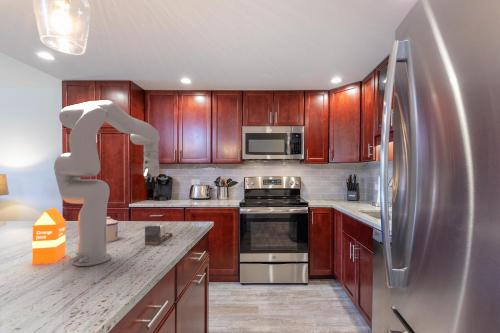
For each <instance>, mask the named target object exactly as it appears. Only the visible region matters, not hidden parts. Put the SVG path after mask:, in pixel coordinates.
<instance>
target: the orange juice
mask: <svg viewBox="0 0 500 333" xmlns="http://www.w3.org/2000/svg"><path fill="white" fill-rule="evenodd" d="M66 221H67V220H66V219H65V218H64V217H63V216H62V214H61V213H60V212H59V211H58V209H56V207H52V208H49V209H46V210H44V211H43V213H42V214H41V216H39V218H38V219H37V221H36V222H35V223H34V224H33V225H32V245H31V246H32V265H39V264H41V263H43V264H51V263H53V264H54V263H57V262H58V261H59V260H62V258H63V257H65V256H66Z"/></svg>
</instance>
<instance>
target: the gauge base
mask: <svg viewBox="0 0 500 333" xmlns="http://www.w3.org/2000/svg"><path fill="white" fill-rule="evenodd" d="M172 236H173V232H165V236H163V237H161V238H160V226H156V225H147V226H145V227H144V246H159V245H160V244H162V243H163V242H165V241H166V240H168V239H170V238H171V237H172Z"/></svg>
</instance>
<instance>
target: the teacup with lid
mask: <svg viewBox="0 0 500 333" xmlns="http://www.w3.org/2000/svg"><path fill="white" fill-rule="evenodd" d="M118 225H119V221H118V220H115V219H113V218H111V216H107V240H106V243H109V242H110V243H111V242H115V241H117V240H118V238H119V226H118Z"/></svg>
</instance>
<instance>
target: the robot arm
mask: <svg viewBox="0 0 500 333" xmlns="http://www.w3.org/2000/svg"><path fill="white" fill-rule="evenodd" d="M58 119H59V121H60V124H62V125H63V126H64V127H65V128H67V129H71V130H70V133H69V134H68V135H69V136H68V143H69V150H70V152H64V153H61V154H59V155H58V156H57V157H55V158H56V159H55V161H54V164H53V165H54V166H53V170H54V175H55V179H56V183H57V187H58V191H59V194H60V196H61V198H62V200H63V201H64V202H66V203H68V204H75V205H76V204H77V205H79V204H80V205H81V204H82V207H81V209H80V210H79V213H78V216H77V235H78V236H77V252H76V255H75V256H74V257H71V258H69V260H68V263H69V265H73V266H76V267H90V266H95V265H100V264H105V263H106V262H108V261H110V260H111V259H112V258H111V257H112V254H111V253H108V252H107V242H106V240H107V217H108V216H107V212H108V211H107V210H108V202H109V199H110V192H111V190H110V186H109V184H108V183H107V182H105V180H101V179H92V178H91V177H95V176H97V175H98V174H99V173H100V172H101V162H100V156H99V153H98V146H97V141H96V140H97V139H96V138H97V135H98V132H99V130H100V129H101V127H102V126H103V125H104V123H105V122H106V123H107V124H109V125H110V126H112V127H113V128H114V129H116V130H117V131H118V132H120V133H124V134H128V135H129V140H130V141H131V142H132V144H134V145H137V146H138V145H139V146H140V145H141V146H142V145H143V166H142V168H143V169H142V172H143V173H142V174H143V177H144V179H145V190H156V189H157V188H156V187H157V183H156V182H157V178H158V177H159V175H160V161H159V142H160V139H161V138H160V133H159V132H158V130H157V128H155V127H154V126H153V125H151V124H150V123H148V122H146V121H144V120H140V119H138V118H135V117H133V116H131V115H130V114H128V113H127V112H126V111H125V110H124V109H122V108H121V106H119V105H118V104H117V103H115V102H113V101H111V100H92V101H86V102H82V103H78V104H73V105H68V106H65V107H64V108H62V109H61V110H60V112H59V114H58ZM81 178H88V179H81ZM89 178H91V179H89Z"/></svg>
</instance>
